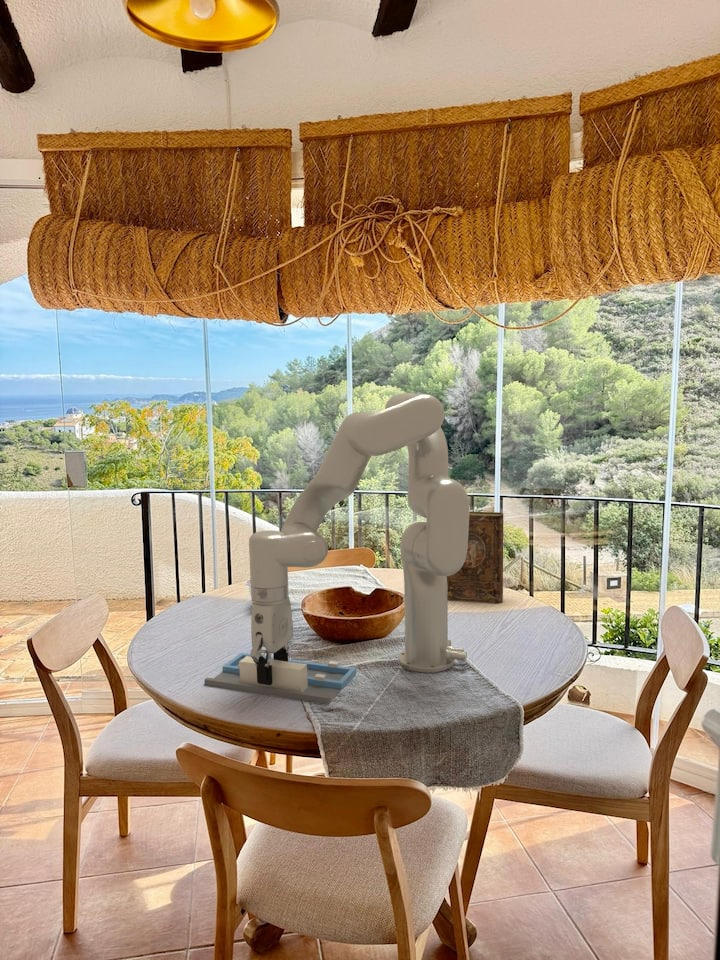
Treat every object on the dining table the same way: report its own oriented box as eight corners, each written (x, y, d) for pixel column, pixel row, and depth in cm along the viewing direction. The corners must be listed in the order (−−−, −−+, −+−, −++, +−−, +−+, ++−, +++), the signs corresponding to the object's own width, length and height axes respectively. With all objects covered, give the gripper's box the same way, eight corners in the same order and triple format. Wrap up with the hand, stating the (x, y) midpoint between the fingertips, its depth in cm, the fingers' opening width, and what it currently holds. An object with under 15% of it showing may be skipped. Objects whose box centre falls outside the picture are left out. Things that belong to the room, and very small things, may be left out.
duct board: (356, 676, 150) (356, 664, 150) (328, 708, 136) (328, 694, 136) (242, 660, 160) (241, 649, 160) (204, 688, 146) (204, 675, 145)
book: (503, 598, 201) (504, 512, 198) (501, 604, 196) (502, 516, 193) (446, 594, 206) (446, 510, 203) (443, 600, 201) (443, 514, 197)
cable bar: (307, 687, 143) (306, 664, 143) (301, 693, 141) (300, 669, 140) (247, 678, 148) (246, 656, 148) (240, 684, 146) (239, 661, 145)
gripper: (265, 607, 132) (269, 697, 135) (305, 582, 148) (307, 663, 151) (231, 603, 135) (235, 691, 138) (273, 579, 151) (276, 658, 154)
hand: (273, 676), depth 144 cm, fingers open, 6 cm apart
